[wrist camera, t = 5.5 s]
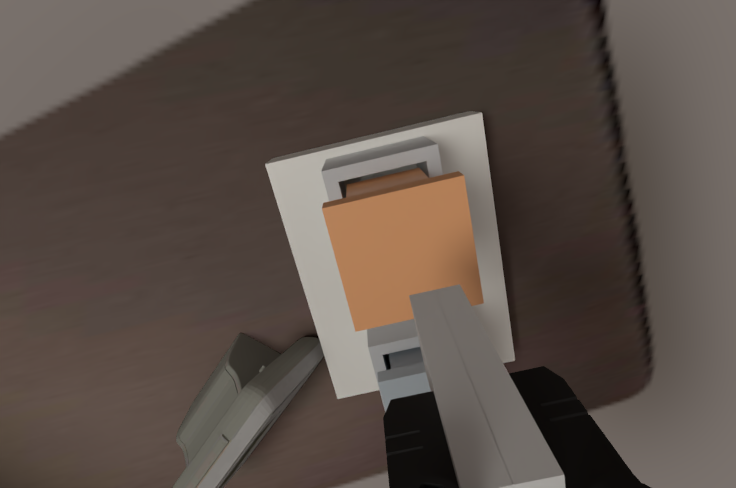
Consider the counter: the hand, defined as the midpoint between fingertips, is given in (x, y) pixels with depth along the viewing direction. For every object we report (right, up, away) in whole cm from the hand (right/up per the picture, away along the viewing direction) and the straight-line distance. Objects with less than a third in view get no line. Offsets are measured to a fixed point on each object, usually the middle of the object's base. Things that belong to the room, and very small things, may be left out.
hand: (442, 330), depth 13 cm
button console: (0, +1, +22) cm, 22 cm away
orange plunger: (-1, +5, +13) cm, 14 cm away
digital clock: (-12, -10, +26) cm, 31 cm away
